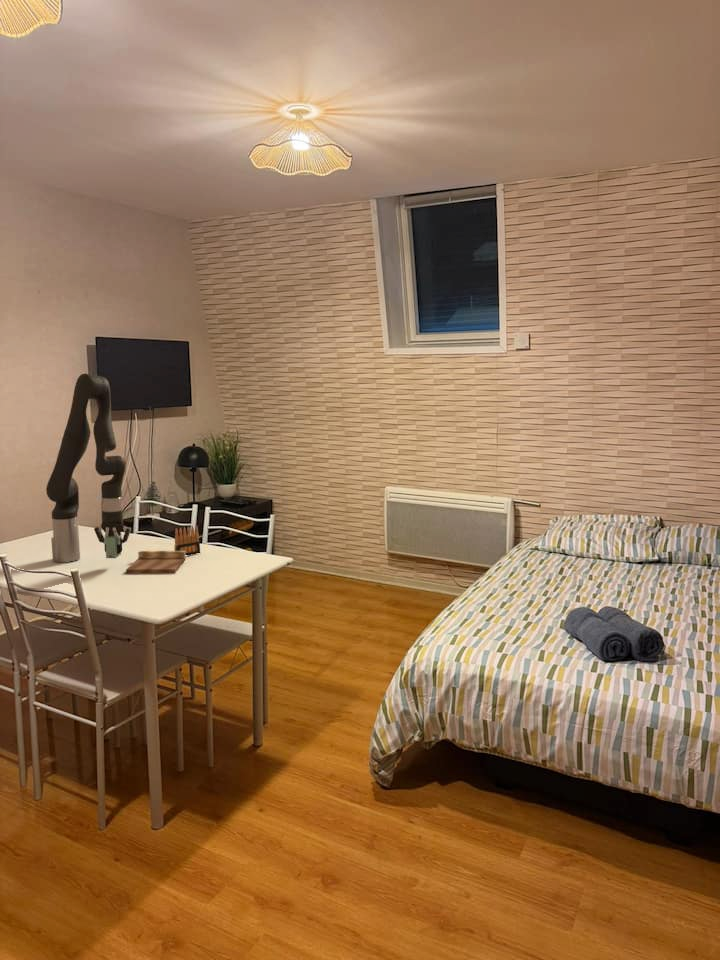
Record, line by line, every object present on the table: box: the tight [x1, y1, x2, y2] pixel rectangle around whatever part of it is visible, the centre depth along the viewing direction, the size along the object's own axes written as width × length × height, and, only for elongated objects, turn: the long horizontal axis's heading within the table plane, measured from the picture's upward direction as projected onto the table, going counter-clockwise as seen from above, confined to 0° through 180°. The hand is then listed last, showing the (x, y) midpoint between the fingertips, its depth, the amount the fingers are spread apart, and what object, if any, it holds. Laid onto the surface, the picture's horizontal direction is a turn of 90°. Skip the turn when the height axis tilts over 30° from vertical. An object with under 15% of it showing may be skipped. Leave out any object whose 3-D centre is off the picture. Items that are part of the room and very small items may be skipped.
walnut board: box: [125, 550, 186, 574], centre depth 257 cm, size 18×17×4 cm
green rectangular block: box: [104, 535, 122, 559], centre depth 254 cm, size 4×7×8 cm, turn 0°
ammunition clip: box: [174, 524, 201, 556], centre depth 273 cm, size 11×2×12 cm, turn 132°
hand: (113, 553), depth 255 cm, fingers closed on green rectangular block, 3 cm apart
